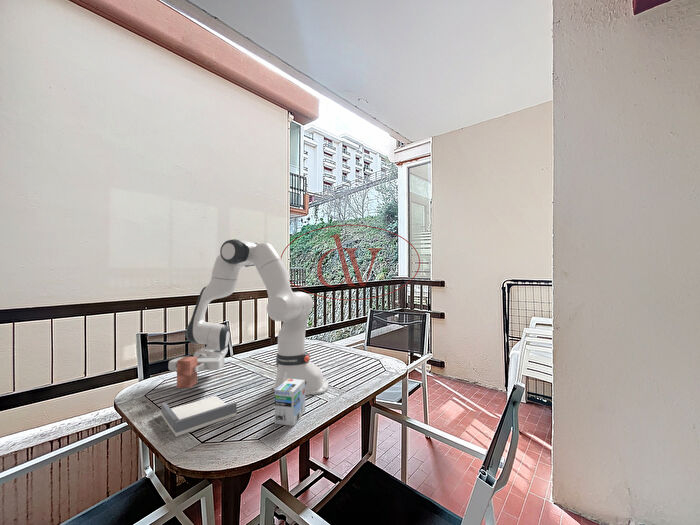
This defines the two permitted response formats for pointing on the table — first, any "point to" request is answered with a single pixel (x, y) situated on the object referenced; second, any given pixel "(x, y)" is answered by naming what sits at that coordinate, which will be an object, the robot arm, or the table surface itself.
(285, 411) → the light bulb box
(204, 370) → the robot arm
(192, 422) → the tray
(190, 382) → the brick-red block
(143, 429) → the table surface
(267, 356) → the table surface
